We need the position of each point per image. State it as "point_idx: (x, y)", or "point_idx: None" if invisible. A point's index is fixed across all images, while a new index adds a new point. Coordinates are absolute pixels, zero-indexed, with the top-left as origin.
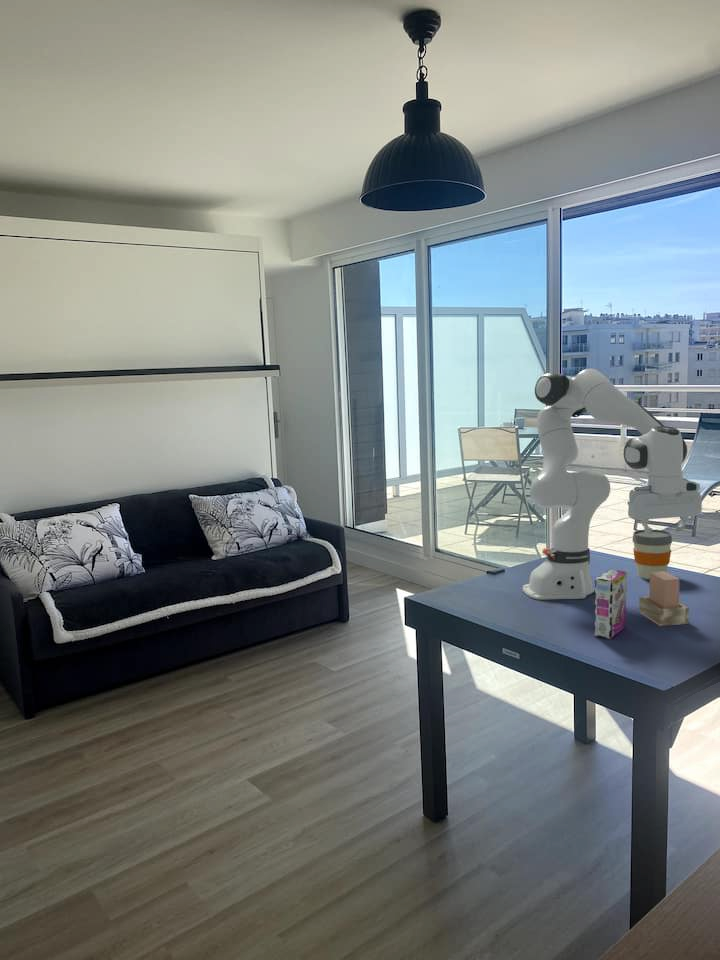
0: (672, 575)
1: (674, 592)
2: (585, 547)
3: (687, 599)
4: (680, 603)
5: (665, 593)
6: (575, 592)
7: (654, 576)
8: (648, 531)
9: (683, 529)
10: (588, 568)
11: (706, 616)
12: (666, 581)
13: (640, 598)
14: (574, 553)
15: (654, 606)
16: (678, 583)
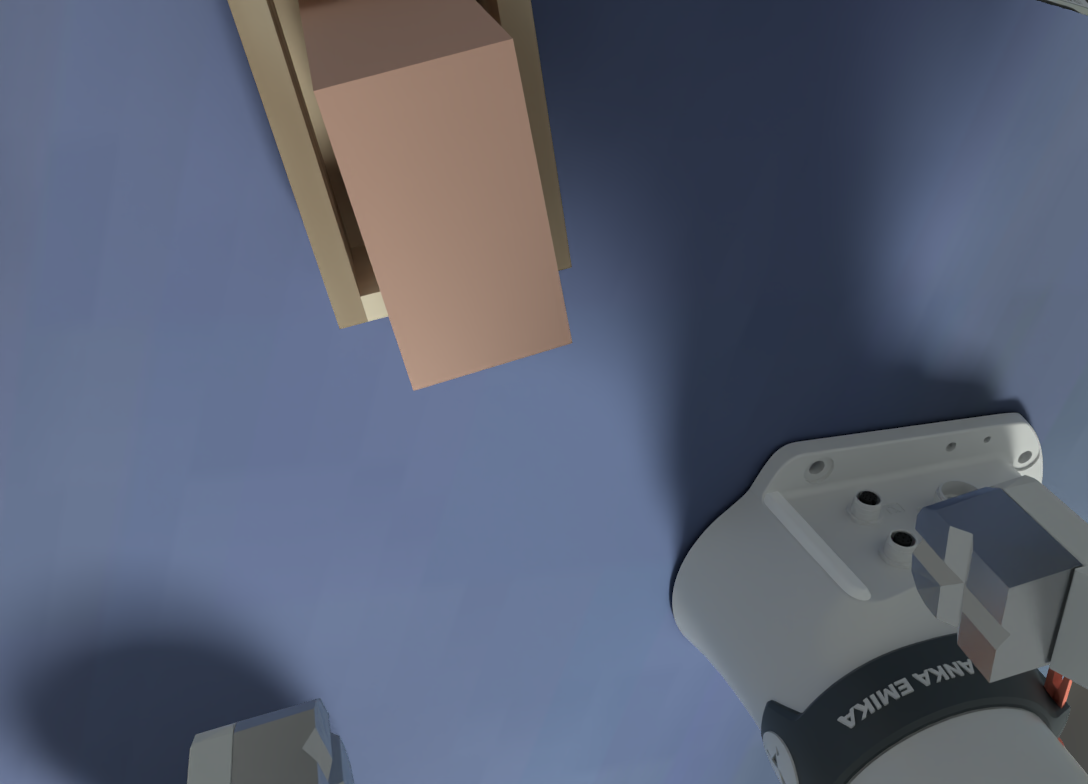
0: (363, 236)
1: (362, 32)
2: (893, 777)
3: (127, 489)
4: (267, 97)
5: (467, 5)
6: (822, 491)
7: (551, 248)
8: (1050, 517)
9: (206, 772)
10: (778, 662)
11: (22, 123)
12: (485, 39)
13: (568, 247)
14: (970, 699)
15: (527, 18)
16: (322, 71)
